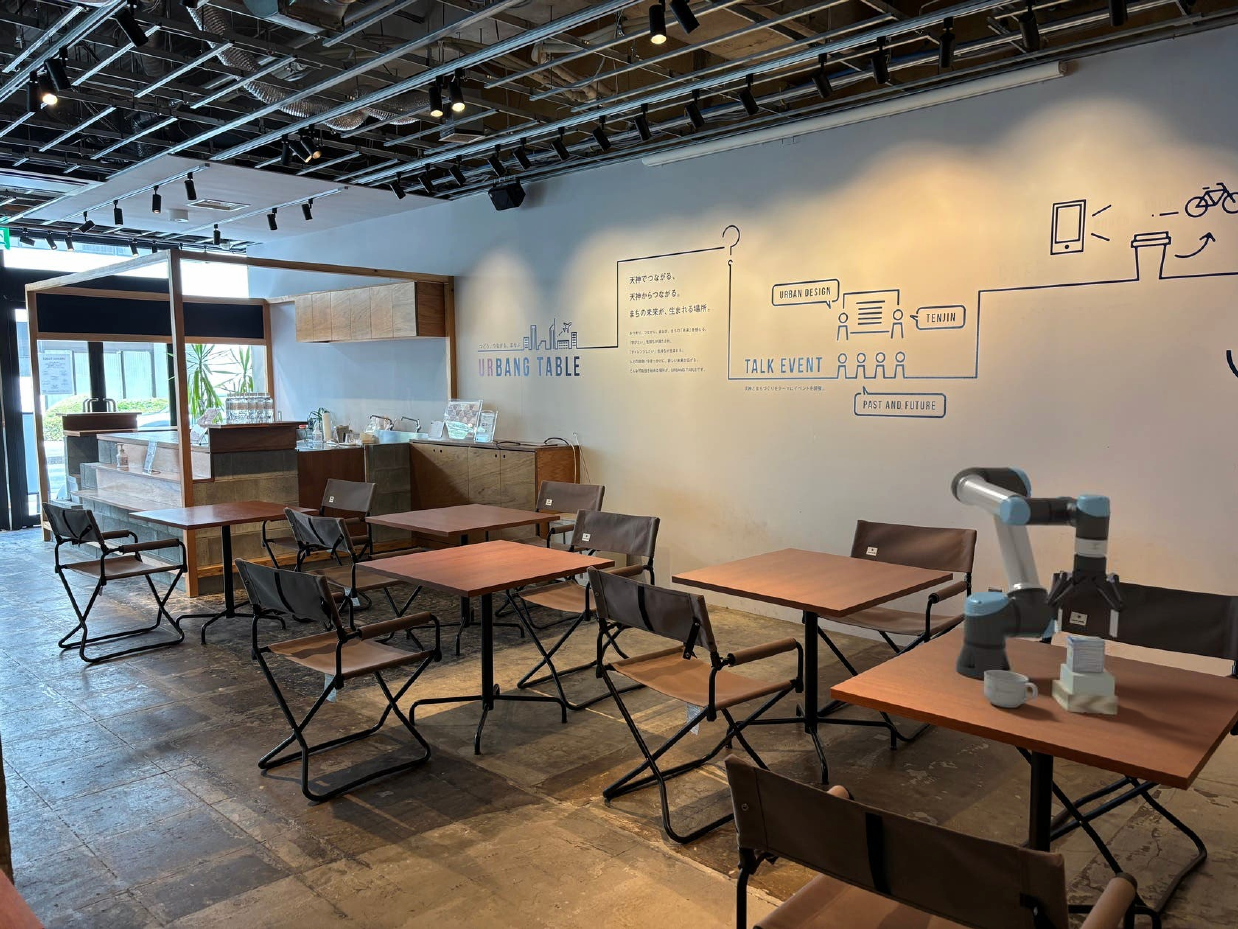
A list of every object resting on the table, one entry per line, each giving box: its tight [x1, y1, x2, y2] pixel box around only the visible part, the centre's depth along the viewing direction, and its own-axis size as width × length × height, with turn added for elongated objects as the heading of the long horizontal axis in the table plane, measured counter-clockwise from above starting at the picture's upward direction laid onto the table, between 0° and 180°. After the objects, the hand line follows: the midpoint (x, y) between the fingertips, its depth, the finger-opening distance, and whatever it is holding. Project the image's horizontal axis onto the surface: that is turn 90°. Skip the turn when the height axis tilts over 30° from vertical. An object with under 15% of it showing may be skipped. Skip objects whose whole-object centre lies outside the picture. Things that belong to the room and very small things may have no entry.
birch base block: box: [1051, 679, 1119, 716], centre depth 230 cm, size 12×12×5 cm
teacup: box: [983, 670, 1039, 709], centre depth 229 cm, size 14×11×8 cm
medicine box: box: [1065, 635, 1106, 673], centre depth 229 cm, size 8×4×9 cm, turn 82°
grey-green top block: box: [1059, 663, 1116, 697], centre depth 230 cm, size 10×10×5 cm
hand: (1085, 634), depth 229 cm, fingers open, 13 cm apart
